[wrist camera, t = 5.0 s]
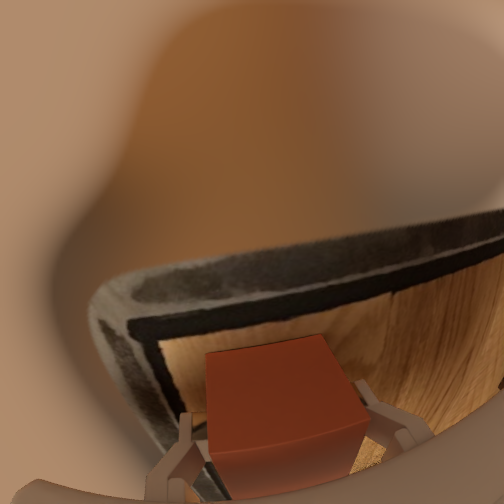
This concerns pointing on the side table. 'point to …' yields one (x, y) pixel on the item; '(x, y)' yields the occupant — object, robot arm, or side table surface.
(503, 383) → the chest
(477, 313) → the side table surface
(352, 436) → the block
